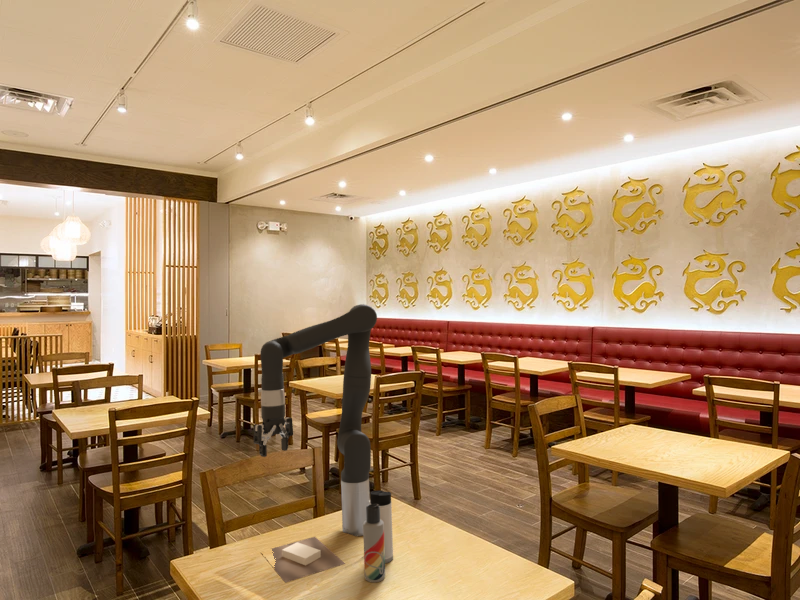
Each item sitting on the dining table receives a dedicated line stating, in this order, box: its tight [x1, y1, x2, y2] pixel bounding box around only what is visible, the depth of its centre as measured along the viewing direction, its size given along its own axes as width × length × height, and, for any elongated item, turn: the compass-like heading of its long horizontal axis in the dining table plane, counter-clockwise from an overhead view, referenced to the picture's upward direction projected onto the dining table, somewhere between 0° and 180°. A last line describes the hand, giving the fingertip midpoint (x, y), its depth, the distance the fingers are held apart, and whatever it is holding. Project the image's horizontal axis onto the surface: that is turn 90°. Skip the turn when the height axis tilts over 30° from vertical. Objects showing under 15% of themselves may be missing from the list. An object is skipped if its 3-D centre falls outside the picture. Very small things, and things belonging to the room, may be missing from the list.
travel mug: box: [369, 490, 394, 564], centre depth 159 cm, size 6×7×20 cm
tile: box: [282, 541, 321, 565], centre depth 159 cm, size 2×6×10 cm
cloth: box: [271, 536, 346, 583], centre depth 159 cm, size 18×22×1 cm
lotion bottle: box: [362, 503, 386, 583], centre depth 148 cm, size 6×6×20 cm
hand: (274, 453), depth 174 cm, fingers open, 8 cm apart
